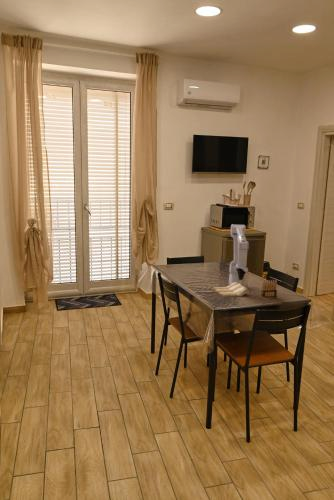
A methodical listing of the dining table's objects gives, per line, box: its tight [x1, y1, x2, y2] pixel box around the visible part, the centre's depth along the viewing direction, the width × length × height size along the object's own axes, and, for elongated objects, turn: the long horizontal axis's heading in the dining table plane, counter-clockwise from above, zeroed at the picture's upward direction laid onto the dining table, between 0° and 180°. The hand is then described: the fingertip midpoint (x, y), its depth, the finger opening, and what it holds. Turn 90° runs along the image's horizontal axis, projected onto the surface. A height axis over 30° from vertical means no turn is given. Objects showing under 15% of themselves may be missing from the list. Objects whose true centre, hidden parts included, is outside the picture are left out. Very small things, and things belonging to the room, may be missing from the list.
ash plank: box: [225, 282, 250, 297], centre depth 266 cm, size 18×8×2 cm, turn 15°
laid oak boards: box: [212, 286, 238, 298], centre depth 264 cm, size 18×9×2 cm, turn 15°
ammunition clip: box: [260, 279, 278, 298], centre depth 260 cm, size 11×2×12 cm, turn 109°
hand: (240, 279), depth 265 cm, fingers closed
